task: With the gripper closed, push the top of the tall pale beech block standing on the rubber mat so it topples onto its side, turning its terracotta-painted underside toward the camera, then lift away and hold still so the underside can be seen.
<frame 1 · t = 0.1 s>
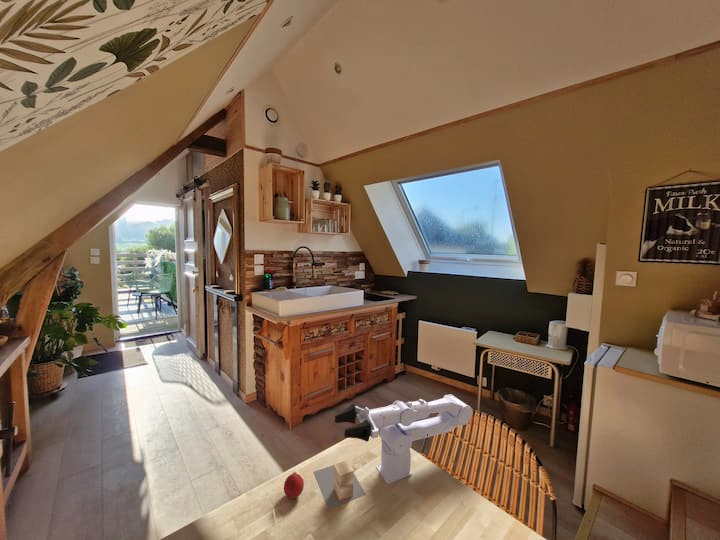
hand: (339, 425, 87), 22 cm above the table, tool horizontal, fingers open, 7 cm apart
mat: (338, 483, 92), on the table
beech block: (343, 492, 89), resting on mat
onion: (293, 497, 87), on the table
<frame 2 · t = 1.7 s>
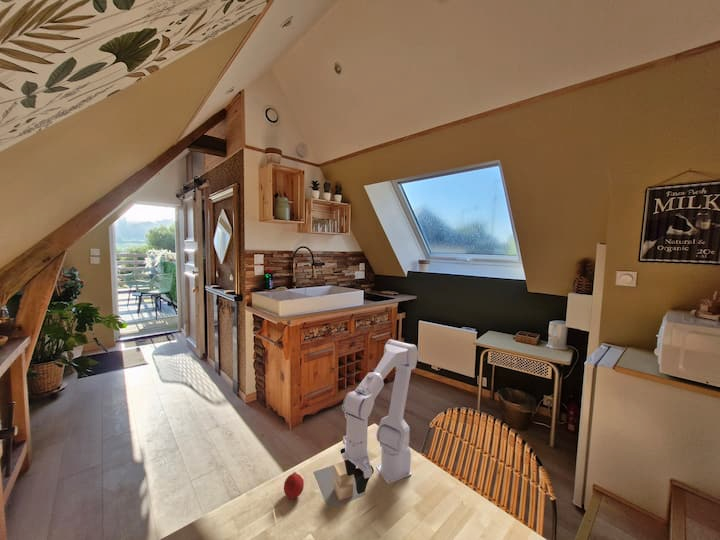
hand: (355, 482, 80), 10 cm above the table, tool pointing down, fingers open, 6 cm apart
nothing on the table moved.
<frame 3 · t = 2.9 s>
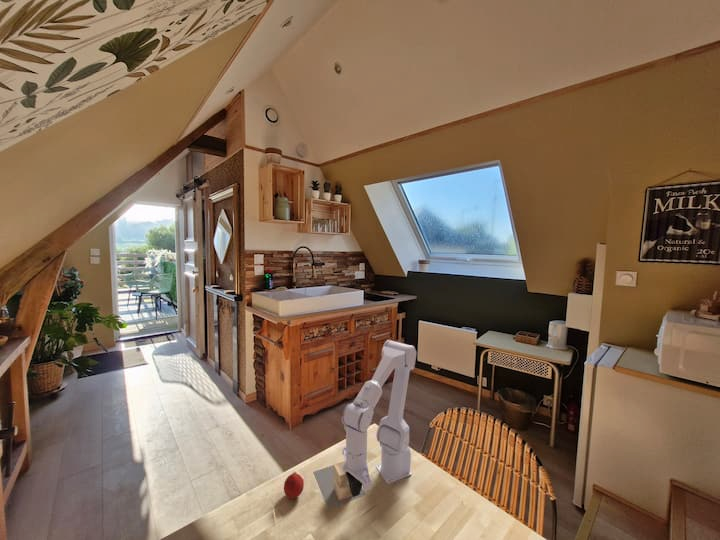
hand: (355, 494, 80), 7 cm above the table, tool pointing down, fingers closed
nothing on the table moved.
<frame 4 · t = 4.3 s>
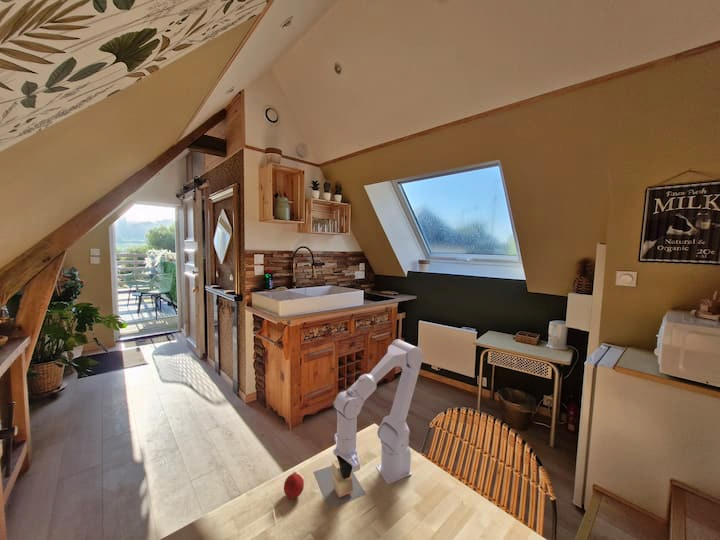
hand: (345, 476, 86), 7 cm above the table, tool pointing down, fingers closed
beech block: (343, 490, 89), point 1 cm above the table, tilted 13°, touching mat
everything else where it was.
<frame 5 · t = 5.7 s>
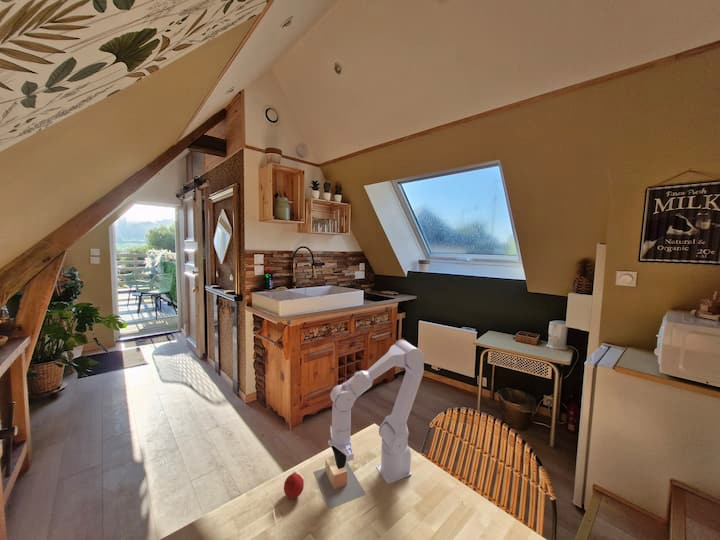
hand: (340, 466, 90), 7 cm above the table, tool pointing down, fingers closed
beech block: (340, 480, 90), point 3 cm above the table, tilted 90°, touching mat
everything else where it was.
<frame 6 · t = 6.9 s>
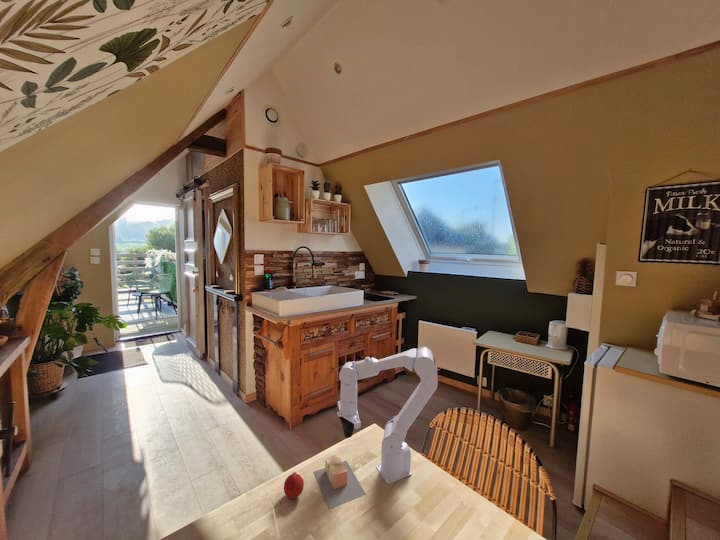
hand: (348, 436, 99), 10 cm above the table, tool pointing down, fingers closed
nothing on the table moved.
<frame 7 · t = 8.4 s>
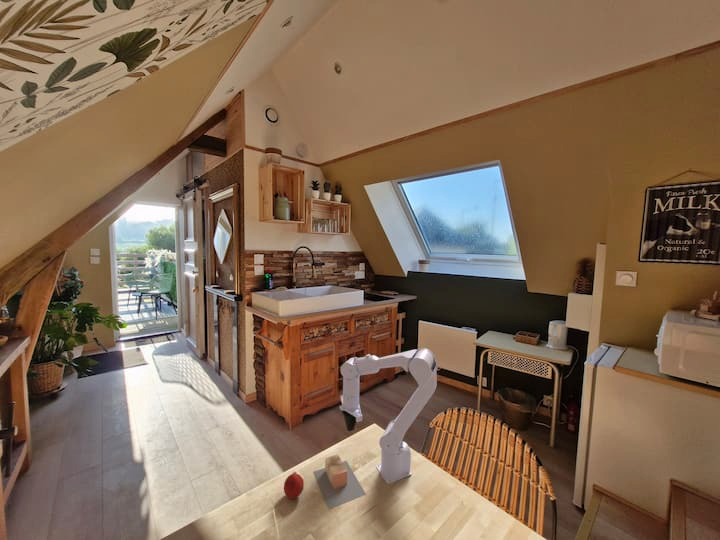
hand: (350, 429, 103), 10 cm above the table, tool pointing down, fingers closed
nothing on the table moved.
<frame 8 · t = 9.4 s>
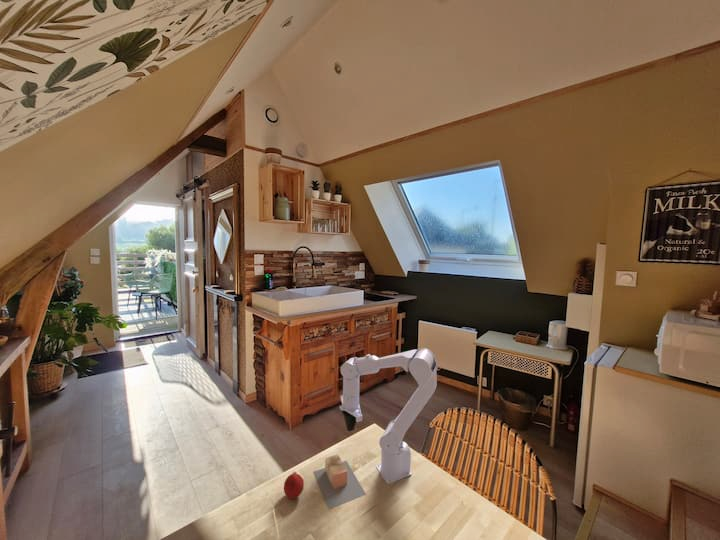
hand: (350, 429, 103), 10 cm above the table, tool pointing down, fingers closed
nothing on the table moved.
at the end: beech block tilted 90°; beech block inside the target area on the mat (1.7 cm from its centre), point 2.6 cm above the mat's base; the gripper is holding nothing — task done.
